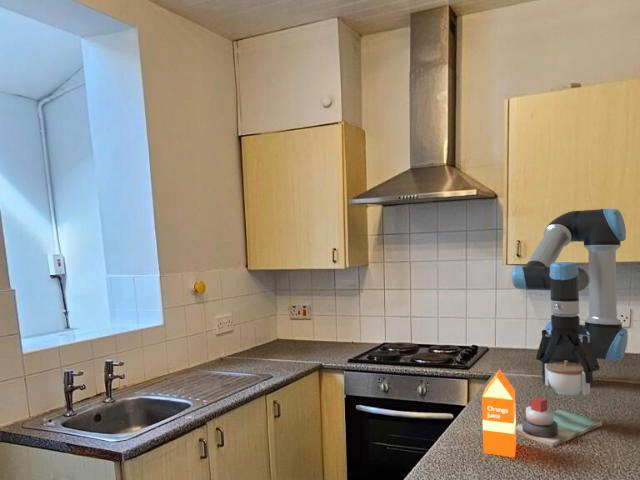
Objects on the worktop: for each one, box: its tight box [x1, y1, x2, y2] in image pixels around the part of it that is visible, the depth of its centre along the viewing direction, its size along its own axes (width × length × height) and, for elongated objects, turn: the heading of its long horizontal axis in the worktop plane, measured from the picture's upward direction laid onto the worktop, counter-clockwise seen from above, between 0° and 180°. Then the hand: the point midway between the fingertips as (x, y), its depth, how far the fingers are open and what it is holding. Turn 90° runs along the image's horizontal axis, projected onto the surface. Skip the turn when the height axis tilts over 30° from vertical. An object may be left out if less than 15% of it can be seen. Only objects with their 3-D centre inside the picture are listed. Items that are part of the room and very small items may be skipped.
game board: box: [516, 409, 603, 448], centre depth 141 cm, size 25×13×4 cm, turn 123°
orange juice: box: [481, 368, 517, 458], centre depth 129 cm, size 8×9×20 cm
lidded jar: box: [546, 360, 585, 397], centre depth 144 cm, size 11×11×9 cm
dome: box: [525, 396, 554, 425], centre depth 137 cm, size 7×7×6 cm
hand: (567, 389), depth 144 cm, fingers closed on lidded jar, 11 cm apart
